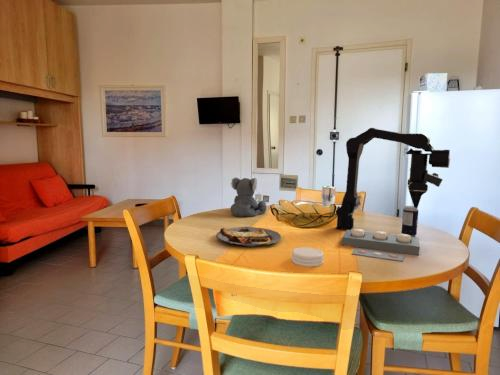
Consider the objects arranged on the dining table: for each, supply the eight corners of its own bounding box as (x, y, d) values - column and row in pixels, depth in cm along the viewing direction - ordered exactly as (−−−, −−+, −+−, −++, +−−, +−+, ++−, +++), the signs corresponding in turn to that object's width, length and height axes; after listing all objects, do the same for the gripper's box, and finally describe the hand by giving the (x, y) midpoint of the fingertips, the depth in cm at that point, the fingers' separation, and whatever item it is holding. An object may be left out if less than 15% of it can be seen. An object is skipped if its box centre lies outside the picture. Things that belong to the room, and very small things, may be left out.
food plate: (217, 249, 121) (218, 239, 121) (214, 232, 144) (214, 224, 144) (287, 249, 125) (287, 239, 125) (273, 232, 148) (273, 224, 148)
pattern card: (351, 254, 119) (351, 253, 119) (354, 248, 125) (354, 247, 125) (402, 261, 112) (402, 260, 112) (402, 255, 119) (403, 254, 119)
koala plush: (268, 213, 183) (269, 176, 181) (251, 219, 168) (252, 179, 165) (240, 209, 192) (240, 174, 189) (221, 215, 177) (222, 177, 174)
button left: (351, 238, 131) (351, 230, 131) (352, 235, 135) (353, 228, 135) (363, 240, 130) (363, 232, 129) (364, 237, 134) (364, 229, 133)
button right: (396, 244, 125) (397, 236, 125) (397, 241, 129) (397, 233, 129) (410, 245, 123) (410, 237, 123) (410, 242, 127) (410, 234, 127)
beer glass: (318, 214, 182) (320, 186, 180) (331, 214, 183) (333, 186, 180) (322, 217, 175) (324, 187, 173) (336, 217, 176) (337, 187, 174)
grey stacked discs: (329, 263, 110) (330, 253, 110) (307, 270, 104) (307, 258, 104) (307, 254, 118) (307, 244, 118) (285, 260, 112) (285, 250, 112)
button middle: (373, 241, 128) (373, 233, 128) (374, 238, 132) (374, 230, 132) (386, 242, 126) (386, 234, 126) (386, 239, 130) (387, 232, 130)
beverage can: (417, 237, 140) (420, 208, 139) (402, 236, 141) (405, 207, 140) (414, 234, 146) (416, 206, 144) (399, 233, 147) (402, 205, 145)
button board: (341, 244, 129) (341, 237, 129) (346, 236, 140) (346, 229, 140) (418, 255, 119) (419, 246, 118) (417, 245, 130) (418, 237, 129)
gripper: (445, 169, 123) (441, 212, 126) (439, 165, 141) (435, 203, 143) (410, 167, 128) (407, 209, 130) (409, 164, 145) (405, 201, 147)
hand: (415, 205), depth 137 cm, fingers open, 9 cm apart
